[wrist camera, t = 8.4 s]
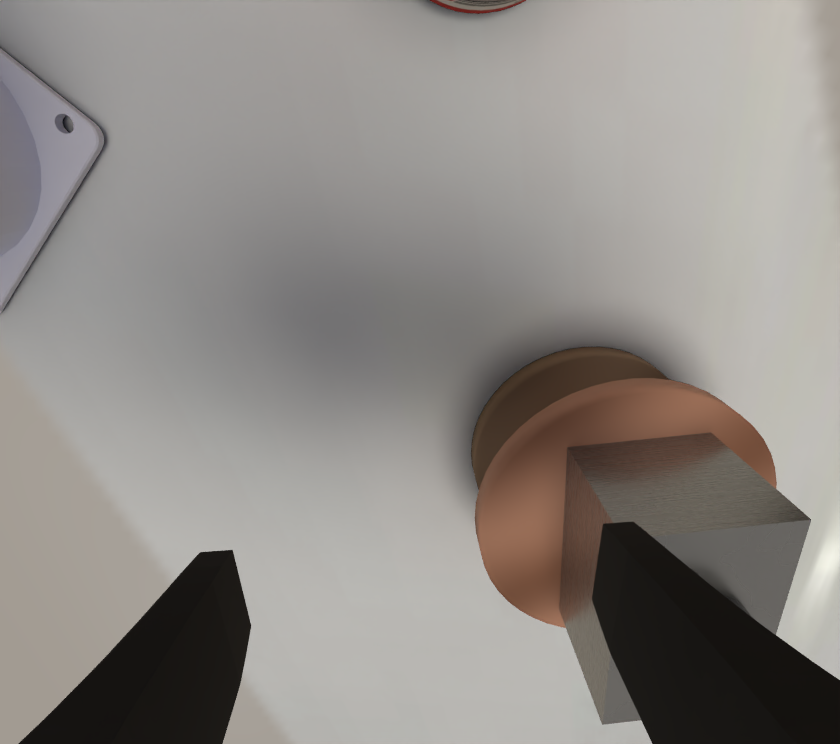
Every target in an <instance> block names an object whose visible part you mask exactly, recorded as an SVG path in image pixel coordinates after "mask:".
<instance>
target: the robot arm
mask: <svg viewBox="0 0 840 744" xmlns="http://www.w3.org/2000/svg"><path fill="white" fill-rule="evenodd" d="M66 115H67V116H69V117H70V118H71V120H72V121H73V124H74V129H73V131H72V132H71V133H69V132H67V130H66V129H65V128H64V126H63V123H62V122H63V118H64V117H65V116H66ZM103 145H104V136H103V134H102V132H101V129H100V128H99V127H98V126H97V125H96V124H95V123H94V122H93V121H92V120H90V119H89V118H88V117H87V116H85V115H84V114H83V113H82V112H80V111H79V110H78V109H76V108H75V107H74V106H73V105H71V104H70V103H69V102H68V101H66V100H65V99H64V98H63V97H61V96H60V95H59V94H58V93H56V92H55V91H54V90H53V89H51V88H50V87H49V86H47V85H46V84H45V83H44V82H42V81H41V80H40V79H39V78H37V77H36V76H35V75H34V74H32V73H31V72H30V71H29V70H27V69H26V68H25V67H24V66H22V65H21V64H20V63H18V62H17V61H16V60H15V59H13V58H12V57H11V56H10V55H8V54H7V53H6V52H5V51H3V50H2V49H1V48H0V313H1V312H2V310H3V309H4V307H5V306H6V304H7V302H8V301H9V299H10V298H11V296H12V294H13V293H14V291H15V289H16V288H17V286H18V285H19V283H20V281H21V280H22V278H23V276H24V275H25V273H26V272H27V270H28V268H29V267H30V265H31V263H32V262H33V260H34V259H35V257H36V255H37V254H38V252H39V250H40V249H41V247H42V246H43V244H44V242H45V241H46V239H47V237H48V236H49V234H50V233H51V231H52V229H53V228H54V226H55V224H56V223H57V221H58V220H59V218H60V216H61V215H62V213H63V211H64V210H65V208H66V207H67V205H68V203H69V202H70V200H71V198H72V197H73V195H74V194H75V192H76V190H77V189H78V187H79V186H80V184H81V182H82V181H83V179H84V177H85V176H86V174H87V173H88V171H89V169H90V168H91V166H92V164H93V163H94V161H95V160H96V158H97V156H98V155H99V153H100V151H101V150H102V148H103ZM592 602H593V605H594V608H595V611H596V614H597V617H598V620H599V623H600V626H601V629H602V632H603V635H604V637H605V640H606V643H607V646H608V649H609V651H610V654H611V656H612V658H613V660H614V663H615V665H616V667H617V669H618V671H619V673H620V676H621V678H622V680H623V682H624V684H625V686H626V688H627V691H628V693H629V695H630V697H631V699H632V701H633V703H634V705H635V708H636V710H637V712H638V714H639V716H640V718H641V720H642V722H643V724H644V727H645V729H646V731H647V733H648V735H649V737H650V739H651V741H652V743H653V744H840V680H839V679H837V678H836V677H834V676H833V675H831V674H830V673H828V672H827V671H825V670H824V669H822V668H821V667H820V666H818V665H817V664H815V663H814V662H812V661H811V660H809V659H808V658H807V657H805V656H804V655H802V654H801V653H800V652H798V651H797V650H796V649H794V648H793V647H791V646H790V645H789V644H787V643H786V642H785V641H783V640H782V639H780V638H779V637H778V636H776V635H775V634H774V633H772V632H771V631H769V630H768V629H767V628H765V627H764V626H763V625H761V624H760V623H759V622H757V621H756V620H755V619H753V618H752V617H751V616H750V615H748V614H747V613H746V612H744V611H743V610H742V609H740V608H739V607H738V606H737V605H735V604H734V603H733V602H731V601H730V600H729V599H728V598H726V597H725V596H724V595H723V594H721V593H720V592H719V591H718V590H716V589H715V588H714V587H713V586H711V585H710V584H709V583H708V582H706V581H705V580H704V579H703V578H701V577H700V576H699V575H698V574H697V573H695V572H694V571H693V570H692V569H690V568H689V567H688V566H687V565H686V564H684V563H683V562H682V561H681V560H680V559H678V558H677V557H676V556H675V555H674V554H672V553H671V552H670V551H669V550H668V549H666V548H665V547H664V546H663V545H662V544H660V543H659V542H658V541H657V540H656V539H654V538H653V537H652V536H651V535H650V534H648V533H647V532H646V531H645V530H643V529H642V528H641V527H640V526H638V525H637V524H636V523H635V522H619V523H605V524H603V527H602V533H601V540H600V547H599V554H598V560H597V567H596V574H595V581H594V587H593V594H592ZM250 629H251V623H250V619H249V615H248V611H247V607H246V603H245V599H244V595H243V591H242V587H241V583H240V579H239V574H238V570H237V566H236V562H235V558H234V554H233V550H226V551H212V552H200V553H199V554H198V555H197V556H196V557H195V558H194V560H193V561H192V562H191V563H190V564H189V565H188V566H187V567H186V568H185V569H184V571H183V572H182V573H181V574H180V575H179V576H178V577H177V578H176V580H175V581H174V582H173V583H172V584H171V585H170V587H169V588H168V589H167V590H166V591H165V592H164V593H163V594H162V596H161V597H160V598H159V599H158V600H157V601H156V602H155V603H154V605H153V606H152V607H151V608H150V609H149V610H148V611H147V612H146V613H145V615H144V616H143V617H142V618H141V619H140V620H139V621H138V622H137V623H136V625H135V626H134V627H133V628H132V629H131V630H130V631H129V632H128V633H127V634H126V635H125V637H123V639H122V640H121V641H120V642H119V643H118V644H117V645H116V646H115V647H114V648H113V649H112V650H111V652H110V653H109V654H108V655H107V656H106V657H105V658H104V659H103V660H102V661H101V662H100V663H99V664H98V665H97V666H96V668H94V670H93V671H92V672H91V673H90V674H89V675H88V676H87V677H86V678H85V679H84V680H83V681H82V682H81V683H80V684H79V685H78V686H77V687H76V688H75V689H74V690H73V691H72V692H71V693H70V694H69V695H68V696H67V697H66V698H65V699H64V700H63V701H62V702H61V703H60V704H59V705H58V706H57V707H56V708H55V709H54V710H53V711H52V712H51V713H50V714H49V715H48V716H47V717H46V718H45V719H44V720H43V721H42V722H41V723H40V724H39V725H38V726H37V727H36V728H35V729H33V730H32V731H31V732H30V733H29V734H28V735H27V736H26V737H25V738H24V739H23V740H22V741H21V742H20V743H19V744H222V743H223V740H224V736H225V733H226V730H227V726H228V723H229V720H230V717H231V713H232V710H233V707H234V703H235V700H236V696H237V693H238V690H239V686H240V683H241V678H242V673H243V667H244V662H245V657H246V652H247V646H248V641H249V635H250Z"/></svg>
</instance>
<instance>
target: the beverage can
mask: <svg viewBox="0 0 840 744" xmlns="http://www.w3.org/2000/svg"><path fill="white" fill-rule="evenodd" d="M430 1H432V2H434V3H436V4H438V5H440V6H442V7H445V8H447V9H451V10H454V11H458V12H464V13H477V14H480V13H490V12H496V11H501V10H504V9H507V8H510V7H513V6H515V5H518V4H520V3H522V2H524V1H526V0H430Z"/></svg>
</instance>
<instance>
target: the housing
mask: <svg viewBox="0 0 840 744" xmlns="http://www.w3.org/2000/svg"><path fill="white" fill-rule="evenodd" d="M619 522H635V523H636V524H637V525H638V526H640V527H641V528H642V529H643V530H645V531H646V532H647V533H648V534H650V535H651V536H652V537H653V538H654V539H656V540H657V541H658V542H659V543H660V544H662V545H663V546H664V547H665V548H666V549H668V550H669V551H670V552H671V553H672V554H674V555H675V556H676V557H677V558H678V559H680V560H681V561H682V562H683V563H684V564H686V565H687V566H688V567H689V568H690V569H692V570H693V571H694V572H695V573H697V574H698V575H699V576H700V577H701V578H703V579H704V580H705V581H706V582H708V583H709V584H710V585H711V586H713V587H714V588H715V589H716V590H718V591H719V592H720V593H721V594H723V595H724V596H725V597H726V598H728V599H729V600H730V601H731V602H733V603H734V604H735V605H737V606H738V607H739V608H740V609H742V610H743V611H744V612H746V613H747V614H748V615H750V616H751V617H752V618H753V619H755V620H756V621H757V622H759V623H760V624H761V625H763V626H764V627H765V628H767V629H768V630H769V631H771V632H772V633H774V634H775V635H776V632H777V629H778V626H779V622H780V619H781V616H782V613H783V609H784V606H785V603H786V600H787V596H788V593H789V590H790V587H791V584H792V580H793V577H794V574H795V571H796V567H797V564H798V561H799V558H800V554H801V551H802V548H803V545H804V542H805V538H806V535H807V532H808V529H809V525H810V522H811V519H810V518H809V517H808V516H806V515H805V514H804V513H803V512H802V511H801V510H800V509H798V508H797V507H796V506H795V505H794V504H793V503H792V502H790V501H789V500H788V499H787V498H786V497H785V496H784V495H782V494H781V493H780V492H779V491H778V490H777V489H775V488H774V487H773V486H772V485H771V484H770V483H769V482H767V481H766V480H765V479H764V478H763V477H762V476H761V475H759V474H758V473H757V472H756V471H755V470H754V469H753V468H751V467H750V466H749V465H748V464H747V463H746V462H745V461H743V460H742V459H741V458H740V457H739V456H738V455H736V454H735V453H734V452H733V451H732V450H731V449H730V448H728V447H727V446H726V445H725V444H724V443H723V442H722V441H720V440H719V439H718V438H717V437H716V436H715V435H714V434H712V433H711V432H710V433H700V434H691V435H681V436H671V437H661V438H652V439H642V440H632V441H622V442H613V443H603V444H593V445H584V446H574V447H567V463H566V483H565V503H564V523H563V543H562V562H561V582H560V602H559V611H560V613H561V616H562V619H563V621H564V624H565V627H566V629H567V632H568V635H569V637H570V640H571V643H572V645H573V648H574V651H575V653H576V656H577V659H578V661H579V664H580V666H581V669H582V672H583V674H584V677H585V680H586V682H587V685H588V688H589V690H590V693H591V696H592V698H593V701H594V704H595V706H596V709H597V712H598V714H599V717H600V720H601V722H602V725H603V724H612V723H620V722H629V721H637V720H641V718H640V716H639V714H638V712H637V710H636V708H635V705H634V703H633V701H632V699H631V697H630V695H629V693H628V691H627V688H626V686H625V684H624V682H623V680H622V678H621V676H620V673H619V671H618V669H617V667H616V665H615V663H614V660H613V658H612V656H611V654H610V651H609V649H608V646H607V643H606V640H605V637H604V635H603V632H602V629H601V626H600V623H599V620H598V617H597V614H596V611H595V608H594V605H593V602H592V594H593V587H594V581H595V574H596V567H597V560H598V554H599V547H600V540H601V533H602V527H603V524H605V523H619Z"/></svg>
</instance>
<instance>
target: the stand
mask: <svg viewBox="0 0 840 744" xmlns="http://www.w3.org/2000/svg"><path fill="white" fill-rule="evenodd" d="M710 432H711V433H712V434H714V435H715V436H716V437H717V438H718V439H719V440H720V441H722V442H723V443H724V444H725V445H726V446H727V447H728V448H730V449H731V450H732V451H733V452H734V453H735V454H736V455H738V456H739V457H740V458H741V459H742V460H743V461H745V462H746V463H747V464H748V465H749V466H750V467H751V468H753V469H754V470H755V471H756V472H757V473H758V474H759V475H761V476H762V477H763V478H764V479H765V480H766V481H767V482H769V483H770V484H771V485H772V486H773V487H774V488H775V489H776V483H777V482H776V473H775V466H774V463H773V459H772V456H771V453H770V451H769V449H768V447H767V445H766V443H765V441H764V439H763V438H762V437H761V435H760V434H759V433H758V432H757V430H756V429H755V428H754V427H753V426H752V425H751V424H750V423H749V422H748V421H747V420H746V419H744V418H743V417H742V416H741V415H740V414H738V413H737V412H736V411H734V410H733V409H732V408H730V407H729V406H728V405H726V404H725V403H724V402H722V401H721V400H719V399H718V398H716V397H715V396H713V395H711V394H710V393H708V392H706V391H704V390H701V389H699V388H697V387H694V386H692V385H689V384H685V383H681V382H677V381H673V380H669V379H668V378H667V377H666V376H665V375H663V374H662V373H661V372H660V371H659V370H657V369H656V368H655V367H654V366H652V365H651V364H650V363H648V362H646V361H645V360H643V359H642V358H640V357H638V356H635V355H633V354H631V353H628V352H625V351H621V350H617V349H613V348H605V347H581V348H573V349H568V350H564V351H560V352H556V353H553V354H550V355H548V356H545V357H543V358H540V359H538V360H536V361H534V362H532V363H531V364H529V365H527V366H525V367H524V368H522V369H521V370H519V371H518V372H516V373H515V374H514V375H513V376H511V377H510V378H509V379H508V380H507V381H506V382H504V383H503V384H502V385H501V386H500V388H499V389H498V390H497V391H496V392H495V393H494V394H493V396H492V397H491V398H490V400H489V401H488V403H487V404H486V405H485V407H484V409H483V411H482V413H481V415H480V416H479V419H478V422H477V424H476V427H475V430H474V434H473V439H472V448H471V457H472V466H473V470H474V474H475V478H476V482H477V485H478V489H479V492H478V496H477V501H476V509H475V525H476V534H477V538H478V542H479V547H480V551H481V555H482V559H483V562H484V566H485V569H486V571H487V573H488V575H489V577H490V579H491V581H492V582H493V584H494V585H495V587H496V588H497V590H498V591H499V592H500V593H501V594H502V595H503V596H504V597H505V598H506V599H507V601H508V602H510V603H511V604H512V605H514V606H515V607H516V608H518V609H519V610H520V611H522V612H524V613H526V614H528V615H529V616H531V617H533V618H535V619H538V620H540V621H543V622H545V623H548V624H552V625H556V626H560V627H564V628H566V627H565V624H564V621H563V619H562V616H561V613H560V611H559V602H560V582H561V562H562V543H563V523H564V503H565V483H566V463H567V447H574V446H584V445H593V444H603V443H613V442H622V441H632V440H642V439H652V438H661V437H671V436H681V435H691V434H700V433H710Z"/></svg>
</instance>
